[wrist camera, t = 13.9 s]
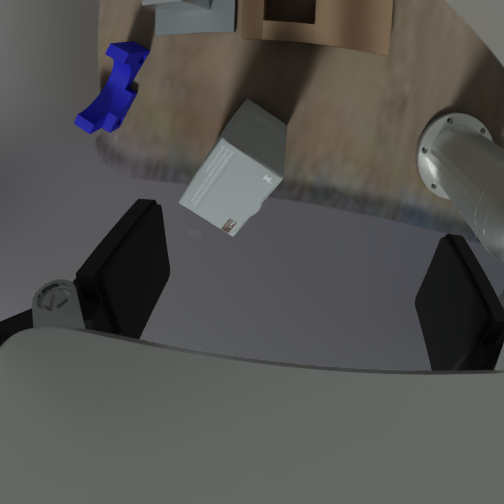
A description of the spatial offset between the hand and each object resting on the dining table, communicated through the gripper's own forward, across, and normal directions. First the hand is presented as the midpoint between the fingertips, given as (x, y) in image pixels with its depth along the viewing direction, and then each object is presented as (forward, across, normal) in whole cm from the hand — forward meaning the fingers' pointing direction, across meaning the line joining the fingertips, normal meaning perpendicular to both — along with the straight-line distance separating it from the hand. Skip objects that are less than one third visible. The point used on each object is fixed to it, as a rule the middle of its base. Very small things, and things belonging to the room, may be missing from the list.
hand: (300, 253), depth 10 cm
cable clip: (+33, +24, -1) cm, 40 cm away
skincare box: (+32, +6, +6) cm, 34 cm away
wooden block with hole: (+32, -1, -12) cm, 34 cm away
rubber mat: (+32, +14, -13) cm, 37 cm away
